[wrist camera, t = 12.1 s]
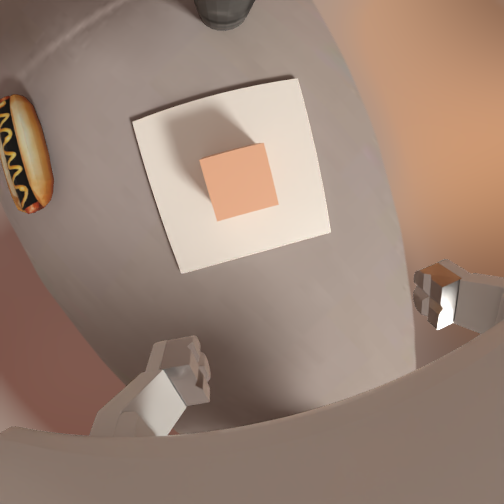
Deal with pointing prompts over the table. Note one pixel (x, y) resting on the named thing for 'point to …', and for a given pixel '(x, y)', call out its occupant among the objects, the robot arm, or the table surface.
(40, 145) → the hot dog
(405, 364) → the table surface
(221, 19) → the beverage cup
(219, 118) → the mat
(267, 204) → the cube
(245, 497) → the robot arm
